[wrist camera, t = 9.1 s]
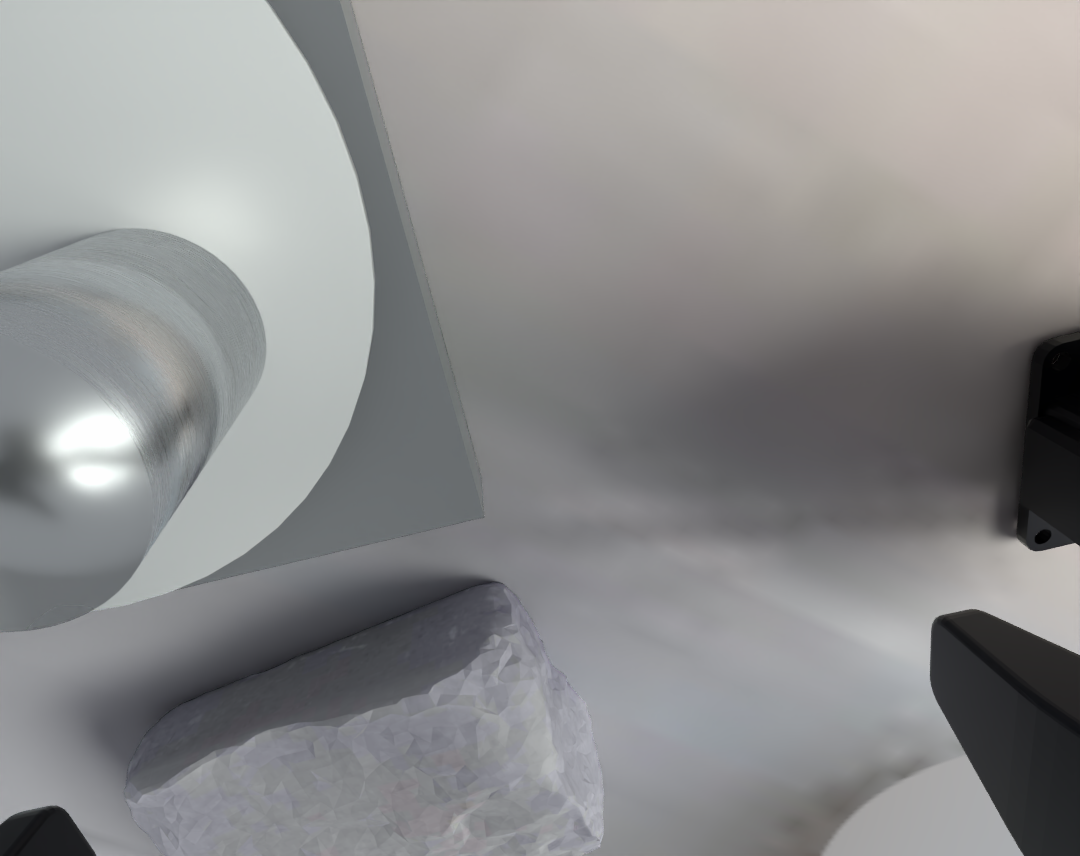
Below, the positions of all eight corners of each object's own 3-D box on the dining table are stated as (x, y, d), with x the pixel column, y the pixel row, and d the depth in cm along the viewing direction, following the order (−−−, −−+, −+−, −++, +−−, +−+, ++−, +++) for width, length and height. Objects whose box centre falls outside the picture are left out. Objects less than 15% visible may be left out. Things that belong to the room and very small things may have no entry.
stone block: (612, 722, 26) (503, 543, 20) (648, 866, 22) (526, 696, 16) (312, 830, 27) (126, 690, 21) (296, 984, 23) (64, 865, 17)
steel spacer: (219, 206, 13) (55, 283, 8) (296, 408, 15) (206, 589, 9) (-4, 256, 13) (-330, 371, 8) (99, 453, 15) (-107, 663, 9)
